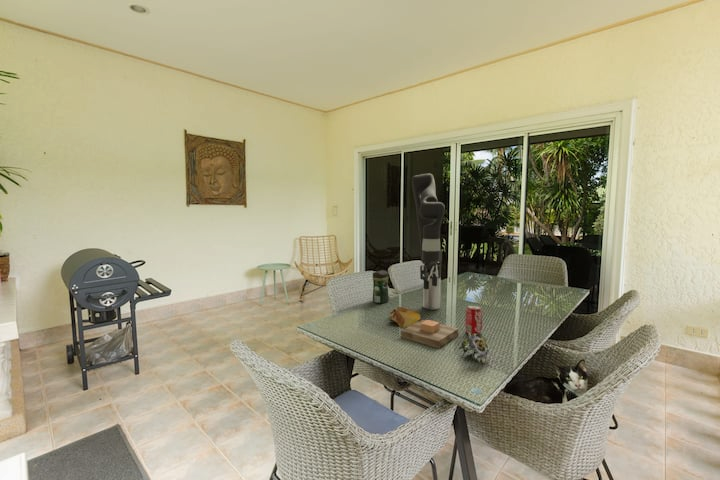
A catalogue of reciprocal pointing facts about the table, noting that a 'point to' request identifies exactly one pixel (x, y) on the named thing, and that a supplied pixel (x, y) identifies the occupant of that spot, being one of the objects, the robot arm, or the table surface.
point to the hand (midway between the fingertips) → (430, 287)
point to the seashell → (404, 317)
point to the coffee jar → (380, 286)
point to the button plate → (430, 335)
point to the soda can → (473, 319)
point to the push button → (429, 326)
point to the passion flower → (476, 347)
